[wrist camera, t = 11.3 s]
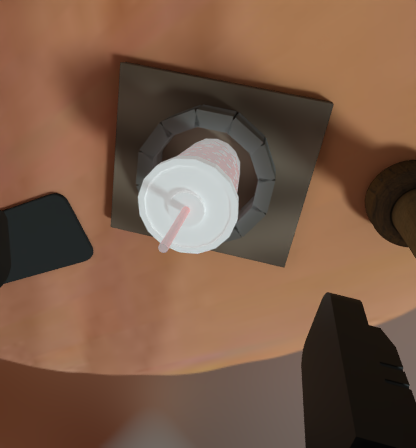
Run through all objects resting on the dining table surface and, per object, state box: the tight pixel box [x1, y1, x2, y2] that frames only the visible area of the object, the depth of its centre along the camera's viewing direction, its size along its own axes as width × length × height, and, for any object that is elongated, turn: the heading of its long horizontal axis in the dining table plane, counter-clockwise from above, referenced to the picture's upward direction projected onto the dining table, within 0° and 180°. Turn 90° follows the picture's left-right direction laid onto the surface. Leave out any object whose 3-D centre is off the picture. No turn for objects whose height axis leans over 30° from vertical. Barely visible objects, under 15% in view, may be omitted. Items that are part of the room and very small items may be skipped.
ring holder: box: [111, 62, 334, 267], centre depth 30 cm, size 14×16×4 cm
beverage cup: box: [138, 139, 240, 254], centre depth 24 cm, size 6×6×14 cm
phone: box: [3, 193, 93, 284], centre depth 39 cm, size 7×1×15 cm
